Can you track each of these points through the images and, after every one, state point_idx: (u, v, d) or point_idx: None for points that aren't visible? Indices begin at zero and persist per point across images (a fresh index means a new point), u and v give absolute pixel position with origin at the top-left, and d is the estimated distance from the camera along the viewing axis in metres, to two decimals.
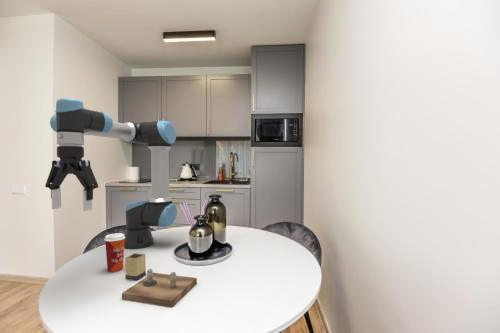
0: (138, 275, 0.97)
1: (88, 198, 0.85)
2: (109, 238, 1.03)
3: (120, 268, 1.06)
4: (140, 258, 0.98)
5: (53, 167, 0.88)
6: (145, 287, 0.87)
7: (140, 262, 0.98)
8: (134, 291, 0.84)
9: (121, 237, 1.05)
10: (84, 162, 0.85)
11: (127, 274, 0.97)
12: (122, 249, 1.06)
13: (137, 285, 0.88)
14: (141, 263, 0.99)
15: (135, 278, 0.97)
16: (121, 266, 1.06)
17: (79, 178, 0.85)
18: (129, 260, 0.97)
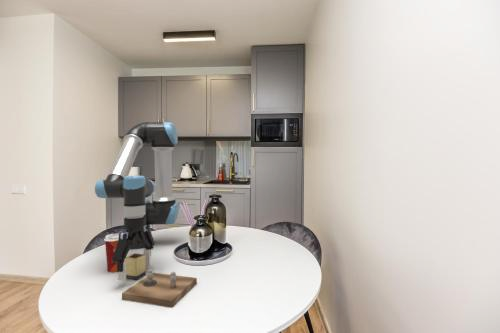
0: (138, 275, 0.97)
1: None
2: (109, 238, 1.03)
3: None
4: (140, 258, 0.98)
5: None
6: (145, 287, 0.87)
7: (140, 262, 0.98)
8: (134, 291, 0.84)
9: None
10: (119, 235, 0.93)
11: (127, 274, 0.97)
12: None
13: (137, 285, 0.88)
14: (141, 263, 0.99)
15: (135, 278, 0.97)
16: None
17: None
18: (129, 260, 0.97)
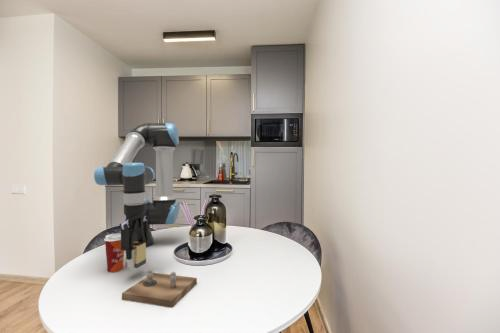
0: (138, 263, 0.98)
1: None
2: (109, 238, 1.03)
3: (120, 268, 1.06)
4: (140, 246, 0.99)
5: None
6: (145, 287, 0.87)
7: (140, 250, 0.99)
8: (134, 291, 0.84)
9: None
10: (120, 226, 0.93)
11: None
12: None
13: (137, 285, 0.88)
14: (141, 251, 0.99)
15: (136, 266, 0.97)
16: (121, 266, 1.06)
17: None
18: None
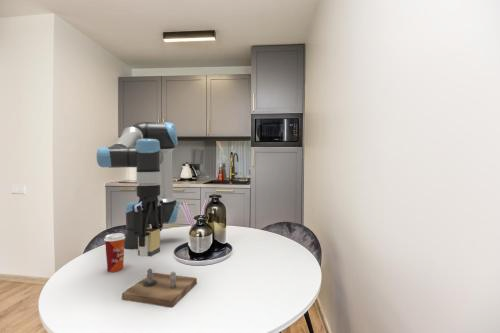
0: (152, 251, 0.87)
1: None
2: (109, 238, 1.03)
3: (120, 268, 1.06)
4: (154, 232, 0.88)
5: None
6: (145, 287, 0.87)
7: (154, 237, 0.88)
8: (134, 291, 0.84)
9: (121, 237, 1.05)
10: (133, 208, 0.83)
11: None
12: (122, 249, 1.06)
13: (137, 285, 0.88)
14: (155, 238, 0.89)
15: (149, 254, 0.86)
16: (121, 266, 1.06)
17: None
18: None
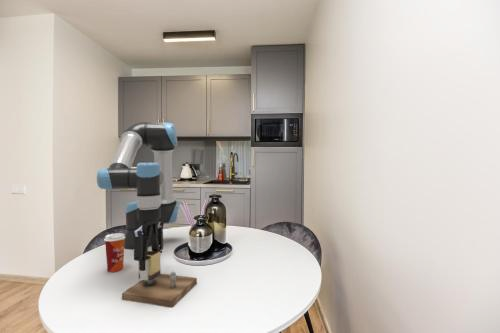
0: (153, 274, 0.87)
1: None
2: (109, 238, 1.03)
3: (120, 268, 1.06)
4: (155, 255, 0.88)
5: None
6: (145, 287, 0.87)
7: (154, 260, 0.88)
8: (134, 291, 0.84)
9: (121, 237, 1.05)
10: (133, 233, 0.83)
11: None
12: (122, 249, 1.06)
13: (137, 285, 0.88)
14: (156, 261, 0.89)
15: (150, 278, 0.86)
16: (121, 266, 1.06)
17: None
18: None
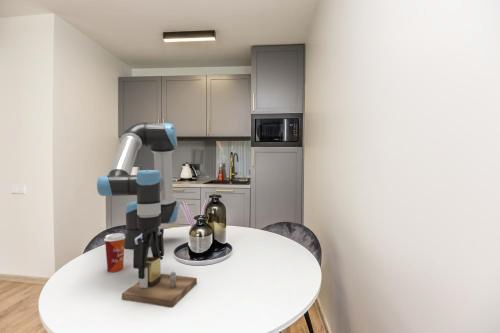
0: (153, 281, 0.87)
1: None
2: (109, 238, 1.03)
3: (120, 268, 1.06)
4: (155, 262, 0.88)
5: None
6: None
7: (155, 266, 0.88)
8: (134, 291, 0.84)
9: (121, 237, 1.05)
10: (133, 241, 0.83)
11: None
12: (122, 249, 1.06)
13: (137, 285, 0.88)
14: (156, 267, 0.89)
15: (150, 284, 0.87)
16: (121, 266, 1.06)
17: None
18: (142, 264, 0.87)
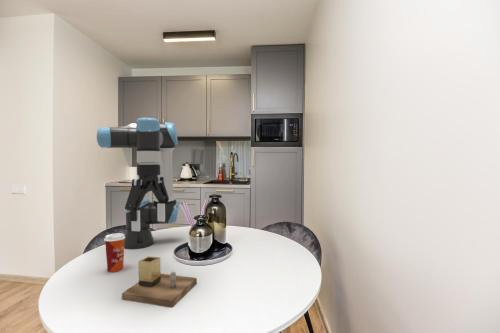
0: (153, 281, 0.87)
1: None
2: (109, 238, 1.03)
3: (120, 268, 1.06)
4: (155, 262, 0.88)
5: None
6: (145, 287, 0.87)
7: (155, 266, 0.88)
8: (134, 291, 0.84)
9: (121, 237, 1.05)
10: (132, 181, 0.83)
11: (141, 280, 0.88)
12: (122, 249, 1.06)
13: (137, 285, 0.88)
14: (156, 267, 0.89)
15: (150, 284, 0.87)
16: (121, 266, 1.06)
17: None
18: (142, 264, 0.87)
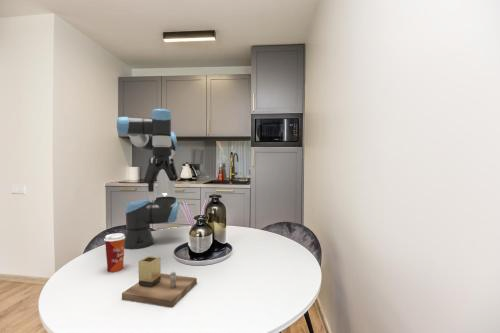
0: (153, 281, 0.87)
1: None
2: (109, 238, 1.03)
3: (120, 268, 1.06)
4: (155, 262, 0.88)
5: None
6: (145, 287, 0.87)
7: (155, 266, 0.88)
8: (134, 291, 0.84)
9: (121, 237, 1.05)
10: (149, 160, 1.03)
11: (141, 280, 0.88)
12: (122, 249, 1.06)
13: (137, 285, 0.88)
14: (156, 267, 0.89)
15: (150, 284, 0.87)
16: (121, 266, 1.06)
17: None
18: (142, 264, 0.87)
